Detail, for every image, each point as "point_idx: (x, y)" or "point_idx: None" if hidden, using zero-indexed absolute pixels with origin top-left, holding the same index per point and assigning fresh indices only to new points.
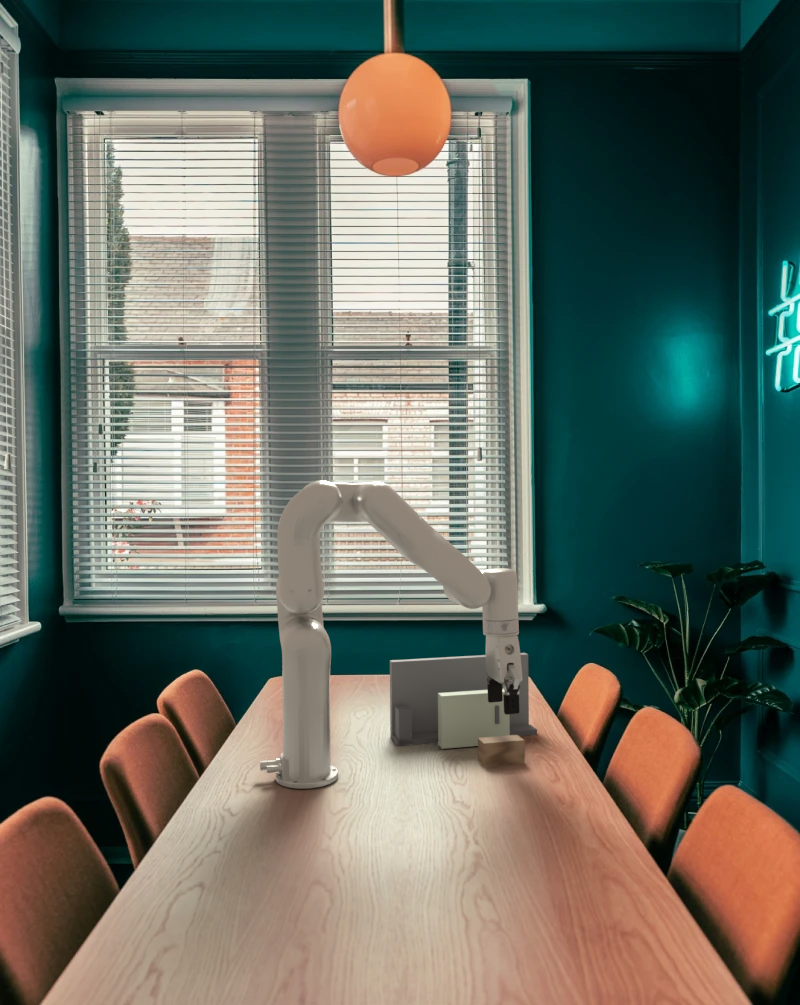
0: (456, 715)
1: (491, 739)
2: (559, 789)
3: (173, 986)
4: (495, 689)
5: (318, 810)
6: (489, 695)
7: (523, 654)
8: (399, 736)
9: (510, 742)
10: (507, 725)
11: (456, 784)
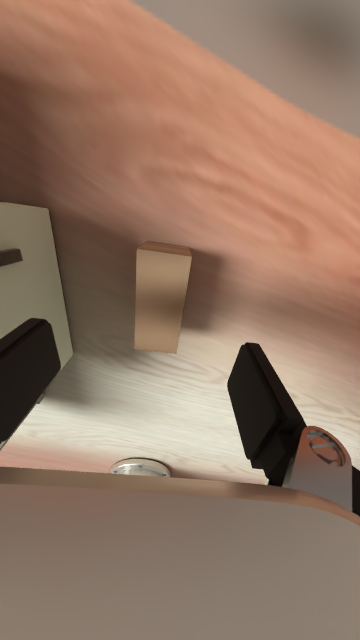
0: None
1: (155, 329)
2: (340, 258)
3: None
4: (13, 392)
5: (218, 477)
6: (43, 391)
7: None
8: (33, 406)
9: (185, 295)
10: (13, 214)
11: (222, 382)
